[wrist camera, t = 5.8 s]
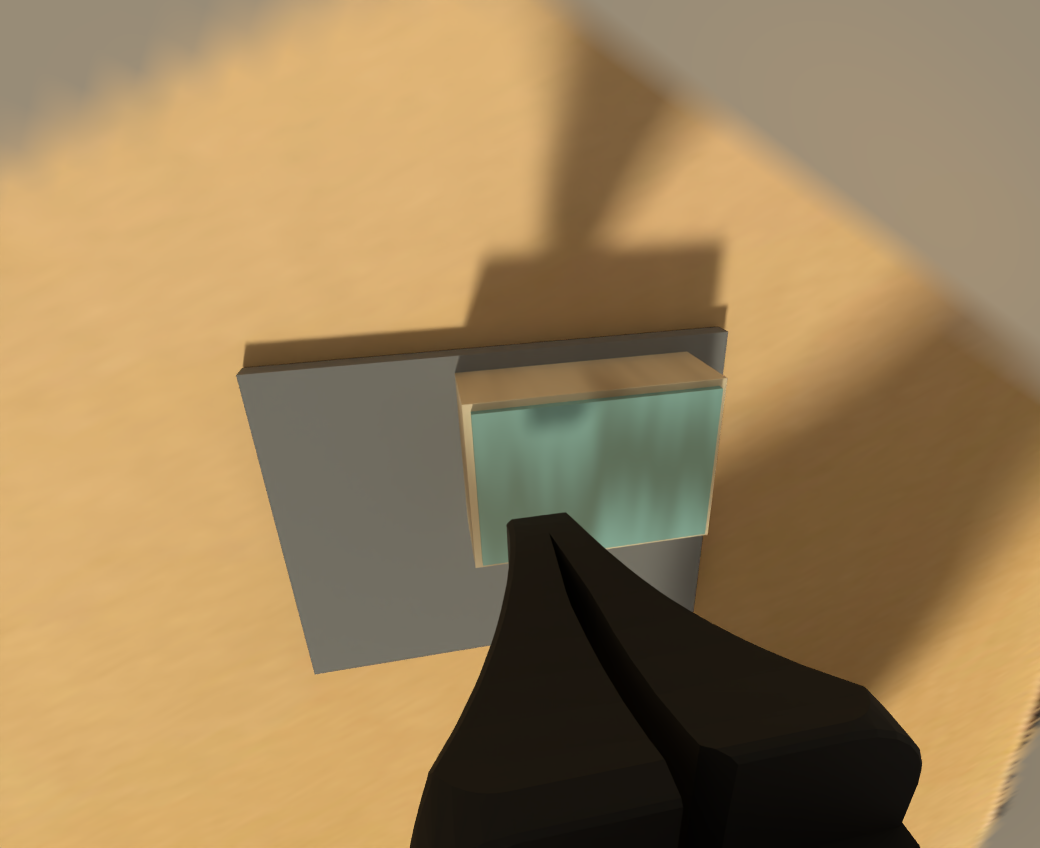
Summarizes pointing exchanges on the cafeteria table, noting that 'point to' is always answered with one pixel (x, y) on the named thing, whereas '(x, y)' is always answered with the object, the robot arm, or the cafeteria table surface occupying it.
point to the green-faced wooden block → (591, 448)
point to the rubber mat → (409, 495)
